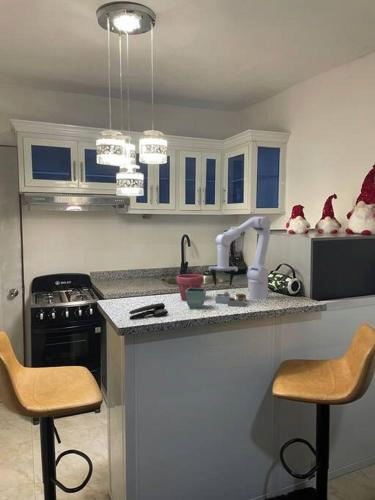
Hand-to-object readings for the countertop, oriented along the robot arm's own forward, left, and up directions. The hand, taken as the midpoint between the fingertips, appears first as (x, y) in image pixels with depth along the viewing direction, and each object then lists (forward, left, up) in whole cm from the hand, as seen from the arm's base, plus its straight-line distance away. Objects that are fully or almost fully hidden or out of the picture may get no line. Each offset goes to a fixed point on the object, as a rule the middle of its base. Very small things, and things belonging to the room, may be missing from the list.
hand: (223, 284), depth 199 cm
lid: (-1, -10, -10) cm, 14 cm away
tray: (-7, +5, -9) cm, 13 cm away
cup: (0, 0, -9) cm, 9 cm away
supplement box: (-18, -33, -10) cm, 39 cm away
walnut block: (-9, -4, -10) cm, 14 cm away
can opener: (+31, +32, -10) cm, 46 cm away
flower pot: (+12, +13, -10) cm, 20 cm away
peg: (-7, +5, -9) cm, 12 cm away
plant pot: (+18, -6, -10) cm, 21 cm away
